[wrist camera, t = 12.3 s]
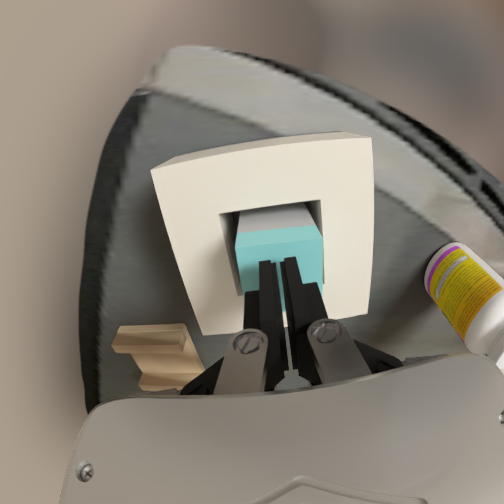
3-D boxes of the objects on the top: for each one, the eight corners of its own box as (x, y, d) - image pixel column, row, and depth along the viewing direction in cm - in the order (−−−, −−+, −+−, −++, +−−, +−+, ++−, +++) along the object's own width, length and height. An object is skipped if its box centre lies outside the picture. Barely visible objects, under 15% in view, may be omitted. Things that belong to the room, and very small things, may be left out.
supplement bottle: (412, 292, 25) (471, 386, 13) (437, 234, 22) (521, 318, 10) (451, 295, 25) (507, 373, 14) (475, 245, 22) (548, 316, 11)
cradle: (206, 372, 30) (203, 392, 28) (148, 372, 31) (142, 390, 28) (184, 322, 26) (178, 343, 24) (120, 325, 27) (110, 344, 24)
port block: (345, 270, 23) (367, 313, 18) (213, 288, 24) (203, 335, 19) (339, 131, 18) (371, 137, 13) (178, 154, 19) (150, 169, 14)
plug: (300, 241, 21) (321, 306, 14) (249, 247, 21) (246, 314, 14) (297, 191, 19) (322, 238, 12) (242, 197, 19) (234, 247, 12)
